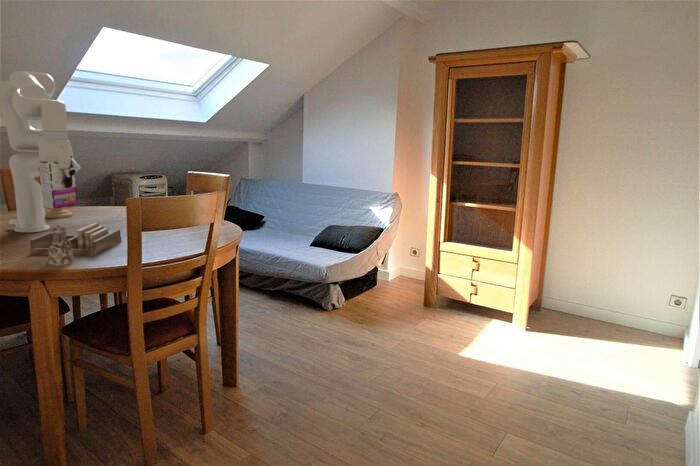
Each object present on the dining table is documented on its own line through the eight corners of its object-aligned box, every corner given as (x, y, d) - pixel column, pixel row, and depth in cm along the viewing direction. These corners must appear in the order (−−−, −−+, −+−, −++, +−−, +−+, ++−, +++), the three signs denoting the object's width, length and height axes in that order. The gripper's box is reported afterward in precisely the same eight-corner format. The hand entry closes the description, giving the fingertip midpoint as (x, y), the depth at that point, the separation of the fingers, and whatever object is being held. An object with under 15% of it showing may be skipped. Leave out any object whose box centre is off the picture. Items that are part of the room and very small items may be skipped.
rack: (30, 254, 161) (28, 240, 160) (63, 239, 183) (62, 227, 182) (95, 256, 163) (95, 242, 162) (121, 241, 185) (120, 229, 184)
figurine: (46, 266, 149) (43, 229, 146) (50, 260, 155) (47, 224, 153) (72, 264, 152) (69, 228, 149) (75, 259, 158) (72, 224, 156)
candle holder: (62, 219, 221) (59, 176, 217) (36, 217, 221) (32, 175, 217) (77, 214, 233) (75, 174, 229) (53, 213, 233) (50, 172, 229)
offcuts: (78, 252, 166) (76, 230, 164) (96, 243, 180) (94, 222, 178) (94, 252, 167) (92, 230, 165) (110, 243, 180) (109, 223, 179)
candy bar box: (66, 203, 175) (63, 159, 172) (78, 204, 174) (75, 160, 171) (41, 208, 164) (37, 161, 161) (53, 209, 164) (50, 162, 160)
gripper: (22, 134, 160) (27, 187, 163) (75, 138, 161) (79, 189, 165) (35, 134, 167) (39, 184, 171) (85, 137, 168) (88, 187, 172)
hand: (59, 186), depth 168 cm, fingers closed on candy bar box, 5 cm apart
